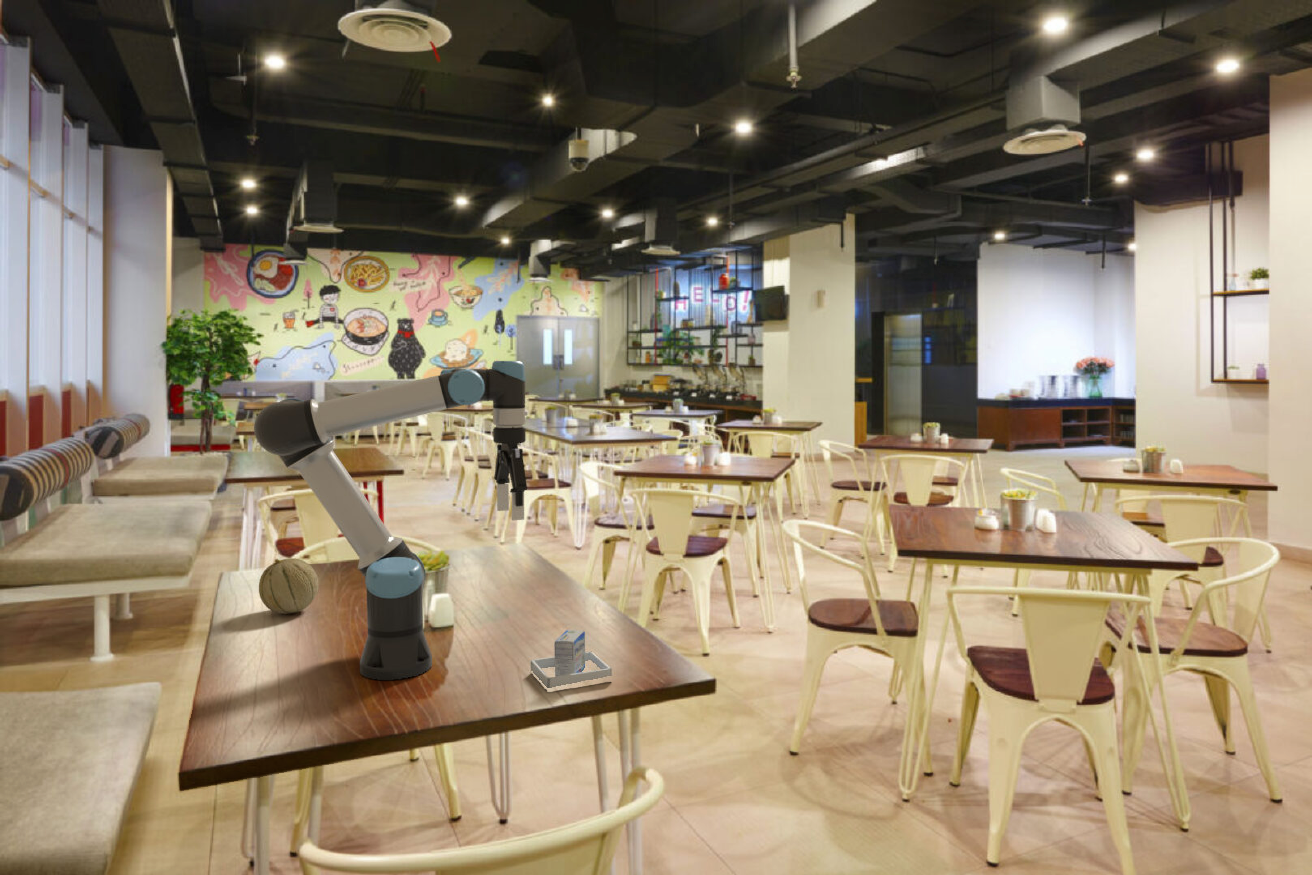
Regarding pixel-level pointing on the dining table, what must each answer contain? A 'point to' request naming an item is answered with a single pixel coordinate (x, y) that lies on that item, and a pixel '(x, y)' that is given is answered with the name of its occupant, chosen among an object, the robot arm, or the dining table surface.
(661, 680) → the dining table surface
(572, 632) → the medicine box
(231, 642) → the dining table surface
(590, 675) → the walled tray
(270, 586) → the cantaloupe
